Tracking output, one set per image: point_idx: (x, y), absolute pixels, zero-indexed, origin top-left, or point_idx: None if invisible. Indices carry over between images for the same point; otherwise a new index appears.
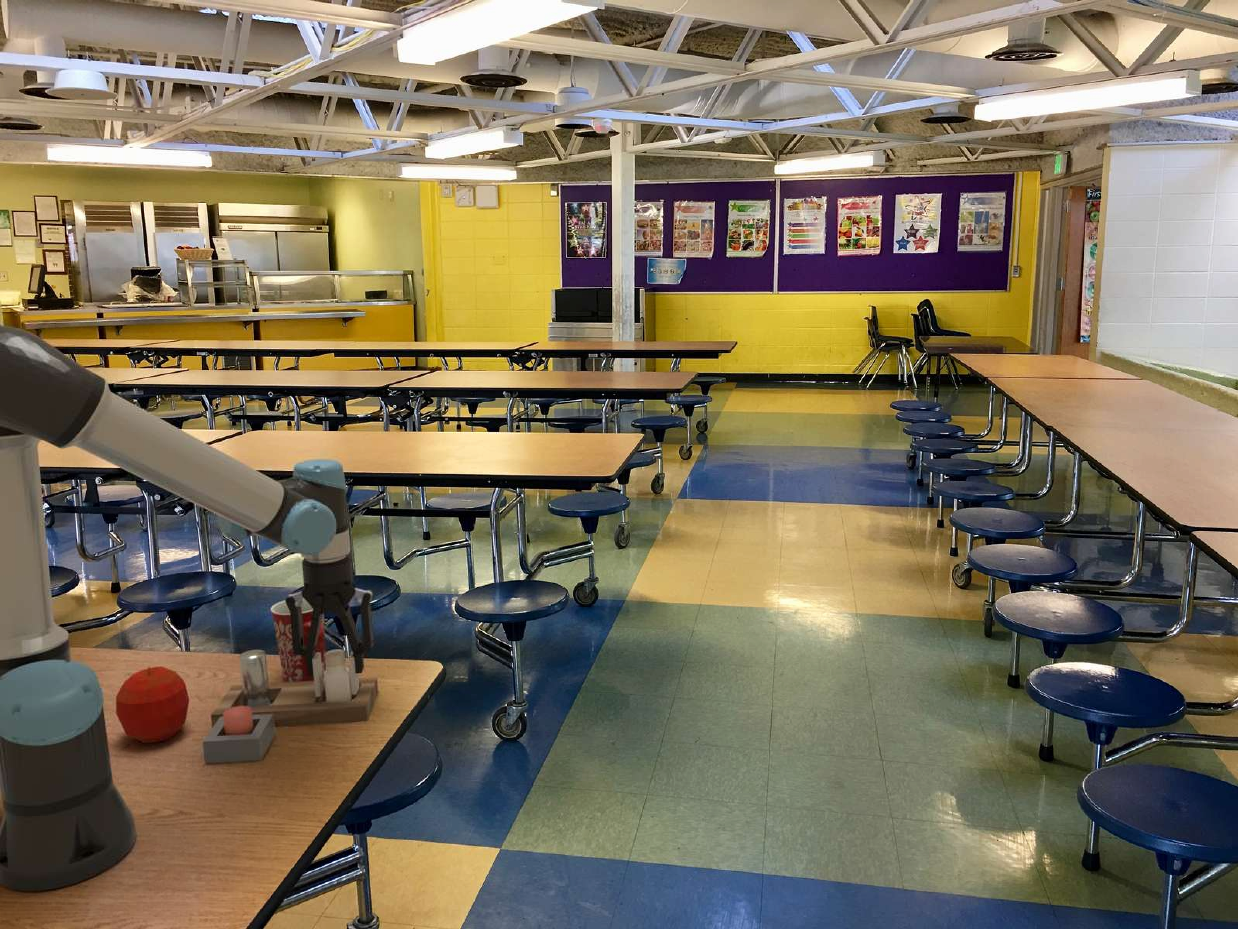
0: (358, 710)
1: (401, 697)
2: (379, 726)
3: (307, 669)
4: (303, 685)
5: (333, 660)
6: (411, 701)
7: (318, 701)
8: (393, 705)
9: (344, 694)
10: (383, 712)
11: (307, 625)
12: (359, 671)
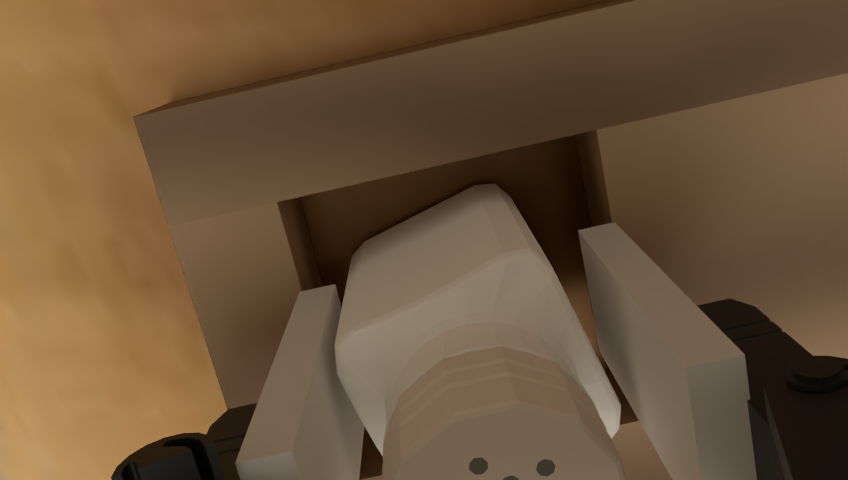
0: (202, 99)
1: (102, 455)
2: (39, 29)
3: (767, 325)
4: None
5: (472, 387)
6: (6, 409)
7: None
8: (99, 343)
9: (383, 264)
10: (117, 239)
11: None
12: (241, 413)
